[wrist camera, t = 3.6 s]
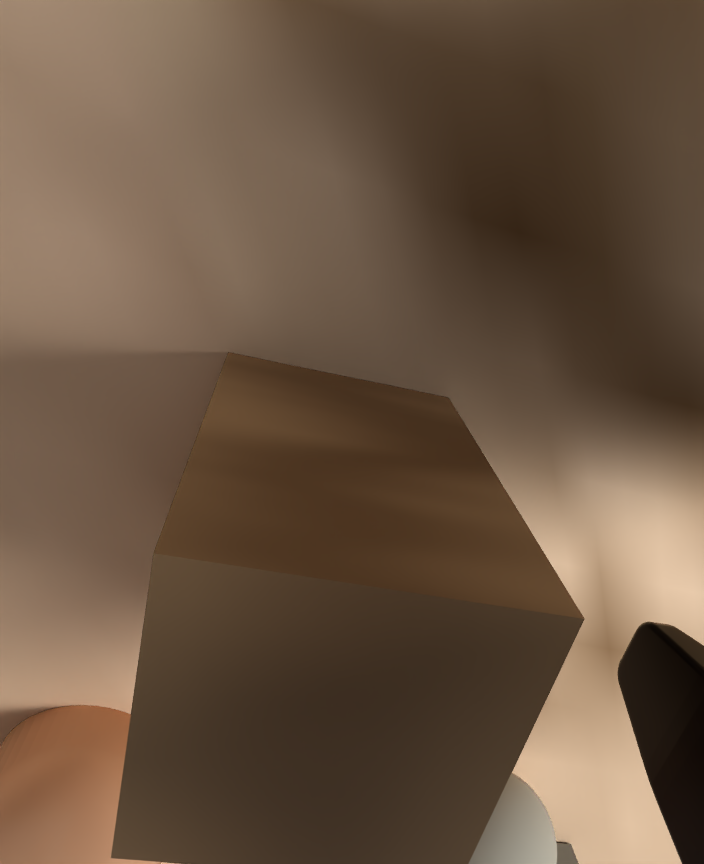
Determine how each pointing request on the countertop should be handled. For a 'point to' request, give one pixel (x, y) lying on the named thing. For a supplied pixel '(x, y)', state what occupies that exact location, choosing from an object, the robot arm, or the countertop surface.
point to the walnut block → (335, 633)
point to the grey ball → (517, 829)
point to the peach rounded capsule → (63, 786)
